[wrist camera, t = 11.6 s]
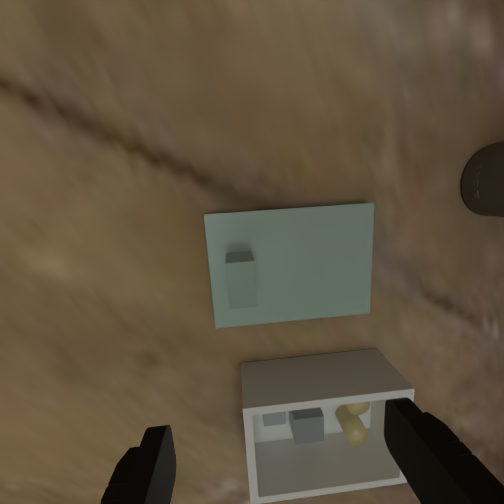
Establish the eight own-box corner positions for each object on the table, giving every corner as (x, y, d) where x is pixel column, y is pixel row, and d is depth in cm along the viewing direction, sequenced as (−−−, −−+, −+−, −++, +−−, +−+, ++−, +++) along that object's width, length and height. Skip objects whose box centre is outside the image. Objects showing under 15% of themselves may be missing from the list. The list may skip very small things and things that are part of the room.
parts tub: (376, 348, 37) (414, 388, 29) (372, 427, 40) (406, 482, 32) (240, 363, 36) (242, 409, 28) (247, 443, 39) (250, 504, 31)
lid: (363, 202, 33) (401, 203, 25) (360, 305, 36) (393, 332, 28) (205, 213, 31) (197, 218, 24) (216, 319, 34) (212, 351, 27)
